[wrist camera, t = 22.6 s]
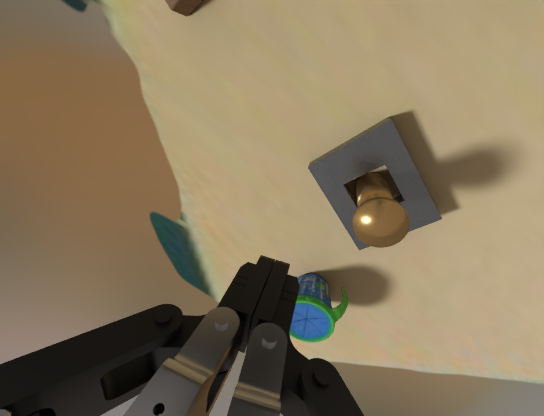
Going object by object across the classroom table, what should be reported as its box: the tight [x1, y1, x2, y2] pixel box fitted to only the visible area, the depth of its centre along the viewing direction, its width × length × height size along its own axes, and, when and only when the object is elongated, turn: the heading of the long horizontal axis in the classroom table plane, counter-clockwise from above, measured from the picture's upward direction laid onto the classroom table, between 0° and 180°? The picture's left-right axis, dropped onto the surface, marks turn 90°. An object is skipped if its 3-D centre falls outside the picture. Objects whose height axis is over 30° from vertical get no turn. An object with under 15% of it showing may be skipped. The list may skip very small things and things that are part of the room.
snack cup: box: [289, 274, 348, 342], centre depth 53 cm, size 16×10×10 cm
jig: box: [308, 117, 442, 250], centre depth 43 cm, size 18×14×3 cm
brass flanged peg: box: [353, 172, 410, 247], centre depth 38 cm, size 7×7×14 cm
